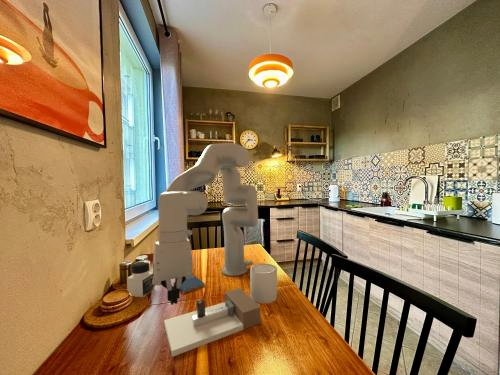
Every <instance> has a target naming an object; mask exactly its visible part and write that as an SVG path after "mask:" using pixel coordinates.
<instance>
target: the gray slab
mask: <svg viewBox="0 0 500 375" xmlns="http://www.w3.org/2000/svg"><path fill="white" fill-rule="evenodd" d="M226 305H227V306H228V307H229V315H227V316H224V317H221V318H218V319H215V320H212V321H209V322H206V323H203V324H200V325H197V326H193V324H192V316H194V315H197V310H193V311H191V312H187V313H184V314H181V315H178V316H174V317H170V318H167V319H164V320H163V326H164V330H165V334H166V337H167V338H166V339H167V343H168V346H169V349H170V355H171V357H172V358H174V357H176V356H178V355H181V354H184V353H186V352H189V351H191V350H194V349H196V348H199V347H202V346H204V345H207V344H209V343H212V342H215V341H217V340H221V339H222V338H225V337H228V336H231V335H233V334H235V333H236V334H237V333H238V332H241V331H243V330H246V329H248V328H252V327H254V326H257V325H259V324H261V306H260V305H259V303H258V302H255V301H253V300H252V299H251V297H250V296H249V295H248V294H247V293H246V292H245V291H244V290H242V288H241V287H239V288H235V289H231V290H228V291H224V302H220V303H217V304H214V305H211V306H208V307H207V306H206V307H205V312H207V311H210V310H214V309H217V308H220V307H223V306H226Z"/></svg>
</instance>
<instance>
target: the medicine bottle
mask: <svg viewBox="0 0 500 375" xmlns="http://www.w3.org/2000/svg"><path fill="white" fill-rule="evenodd" d="M131 269H132V271H131V272H132V274H131V275H130V276H128V277H127V278H126V286H127V288H126V291H129V292H130V293H131V295H132V296H131V297H133V296H134V297H136V298H144V297H146V296H147V295H148V294H150V293H151V292H152V291H154V290H155V287H156V285H153V283H152V281H153V277H154V275H153V271H150V262H149V261H146V260H140V261H137V262H134V263H133V264H132V268H131Z"/></svg>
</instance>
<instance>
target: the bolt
mask: <svg viewBox="0 0 500 375" xmlns="http://www.w3.org/2000/svg"><path fill="white" fill-rule="evenodd" d="M205 308H206V300H205V299H200V300H197V301H196V311H197V315H194V316H192V324H193V326H197V325H200V324H203V323H206V322H209V321H212V320H215V319H218V318H221V317H224V316H227V315H229V307H228V306H227V305H226V306H223V307H220V308H217V309H214V310H210V311H207V312H205Z"/></svg>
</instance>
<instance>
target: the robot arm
mask: <svg viewBox="0 0 500 375" xmlns="http://www.w3.org/2000/svg"><path fill="white" fill-rule="evenodd" d="M250 159H251V156H250V152H249V151H248V149H247V148H246V147H245V146H242V145H241V144H238V143H235V142H223V143H222V142H221V143H219V142H218V143H212V144H209V145H207V146H206V148H205V149H204V150H203V152H202V154H201V156H200V157H199V158H198V160H197V162H195V165H194V166H192V167H191V168H189V169H188V170H186V171H184V172H183V173H180V174H179V175H178V176H176V177H175V178H174V179H173V180H172V181H171V182H170V184H169V185H168V186H167V187H166V190H165V191H164V192H162V193H160V194H159V196H158V201H157V202H158V241H155V245H154V249H153V260H152V272H153V275H154V277H153V281H152V283H153V285H155V286H162V287H164V288H165V289H166V290H167V293H166V295H167V296H166V297H167V302H170V305H171V306H172V305H174V304H175V305H177V304H178V300H179V299H180V291H179V288H180V287H181V285H182V284H183V283H184V281H185V280H187V279H189V278H192V277H193V276H194V274H193V270H194V269H193V268H194V267H193V255H192V254H193V253H192V246H191V241H190V239H189V236H192V235H193V230H191V229H188V216H200V215H202V214H203V213H204V212H205V211H206V210H207V209H208V204H209V201H208V200H209V199H208V197H207V196H206V194H205V193H204V192H202V191H198V190H194V189H196V188H200V187H203V186H206V185H208V184H210V183H212V182H213V181H215V180H216V178H217V176H218V174H219V172H220V174H221V178H222V189H223V190H222V191H223V200H224V203H226V204H227V205H235V206H228V207H226V208H224V209H223V211H222V213H221V220H222V225H223V233H224V234H223V237H224V243H223V244H224V266H223V267H222V268H221V273H222V275H225V276H229V277H238V276H242V275H245V274H246V273H247V272H248V266H253V265H254V262H253V260H248V259H246V260H245V235H244V232H243V230H242V229H241V228H254V227H256V226H257V225H258V222H259V210H258V209H259V206H258V192H257V189H256V187H255V186H254V185H252V184H242V182H241V173H240V171H239V170H238V168H246V167H247V166H248V165H249V163H250ZM238 205H239V206H238ZM174 279H175V280H174ZM172 280H174V282H175V284H174V285H173V283H172Z"/></svg>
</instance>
